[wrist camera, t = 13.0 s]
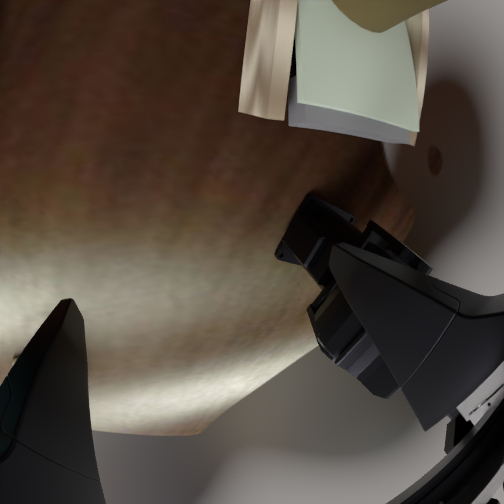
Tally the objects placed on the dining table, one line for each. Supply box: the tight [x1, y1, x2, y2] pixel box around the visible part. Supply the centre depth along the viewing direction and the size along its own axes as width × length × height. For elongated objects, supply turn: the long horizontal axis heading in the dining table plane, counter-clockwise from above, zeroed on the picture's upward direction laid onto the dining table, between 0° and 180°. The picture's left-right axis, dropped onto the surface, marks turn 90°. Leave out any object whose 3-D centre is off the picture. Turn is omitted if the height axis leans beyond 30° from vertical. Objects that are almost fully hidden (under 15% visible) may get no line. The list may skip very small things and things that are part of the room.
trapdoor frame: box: [238, 0, 429, 146], centre depth 13 cm, size 16×13×5 cm
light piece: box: [288, 0, 419, 144], centre depth 12 cm, size 15×10×3 cm, turn 175°
